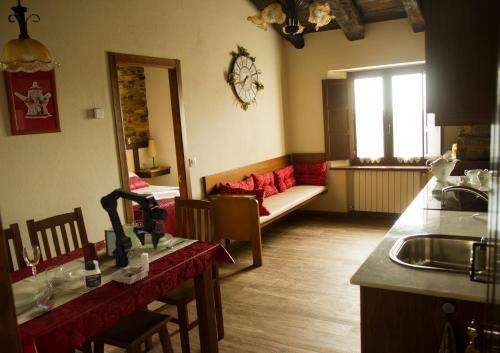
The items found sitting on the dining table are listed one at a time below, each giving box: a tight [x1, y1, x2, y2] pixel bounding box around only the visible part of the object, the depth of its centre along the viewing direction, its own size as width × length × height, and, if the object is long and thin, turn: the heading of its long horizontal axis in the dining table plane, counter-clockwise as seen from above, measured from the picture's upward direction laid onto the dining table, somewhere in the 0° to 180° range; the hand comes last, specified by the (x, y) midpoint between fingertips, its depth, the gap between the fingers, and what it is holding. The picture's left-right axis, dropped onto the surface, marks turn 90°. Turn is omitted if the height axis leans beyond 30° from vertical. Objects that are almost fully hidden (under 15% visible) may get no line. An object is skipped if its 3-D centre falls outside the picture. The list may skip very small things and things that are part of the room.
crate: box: [112, 265, 149, 285], centre depth 211 cm, size 12×12×3 cm
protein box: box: [104, 222, 138, 258], centre depth 248 cm, size 10×15×16 cm
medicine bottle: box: [83, 259, 103, 290], centre depth 202 cm, size 7×7×12 cm
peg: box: [140, 252, 150, 272], centre depth 220 cm, size 4×4×9 cm
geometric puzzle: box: [36, 294, 56, 314], centre depth 178 cm, size 7×7×8 cm
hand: (149, 247), depth 220 cm, fingers open, 9 cm apart
